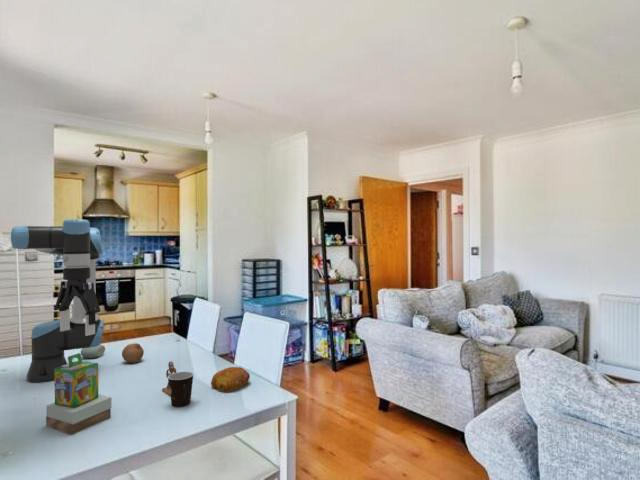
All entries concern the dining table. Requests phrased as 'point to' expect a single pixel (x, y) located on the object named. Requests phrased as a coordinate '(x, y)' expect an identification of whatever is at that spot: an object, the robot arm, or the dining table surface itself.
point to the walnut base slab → (78, 423)
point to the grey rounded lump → (93, 351)
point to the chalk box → (76, 382)
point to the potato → (230, 379)
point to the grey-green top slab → (79, 410)
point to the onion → (132, 353)
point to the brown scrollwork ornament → (167, 390)
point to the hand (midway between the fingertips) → (77, 332)
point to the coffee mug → (180, 388)
